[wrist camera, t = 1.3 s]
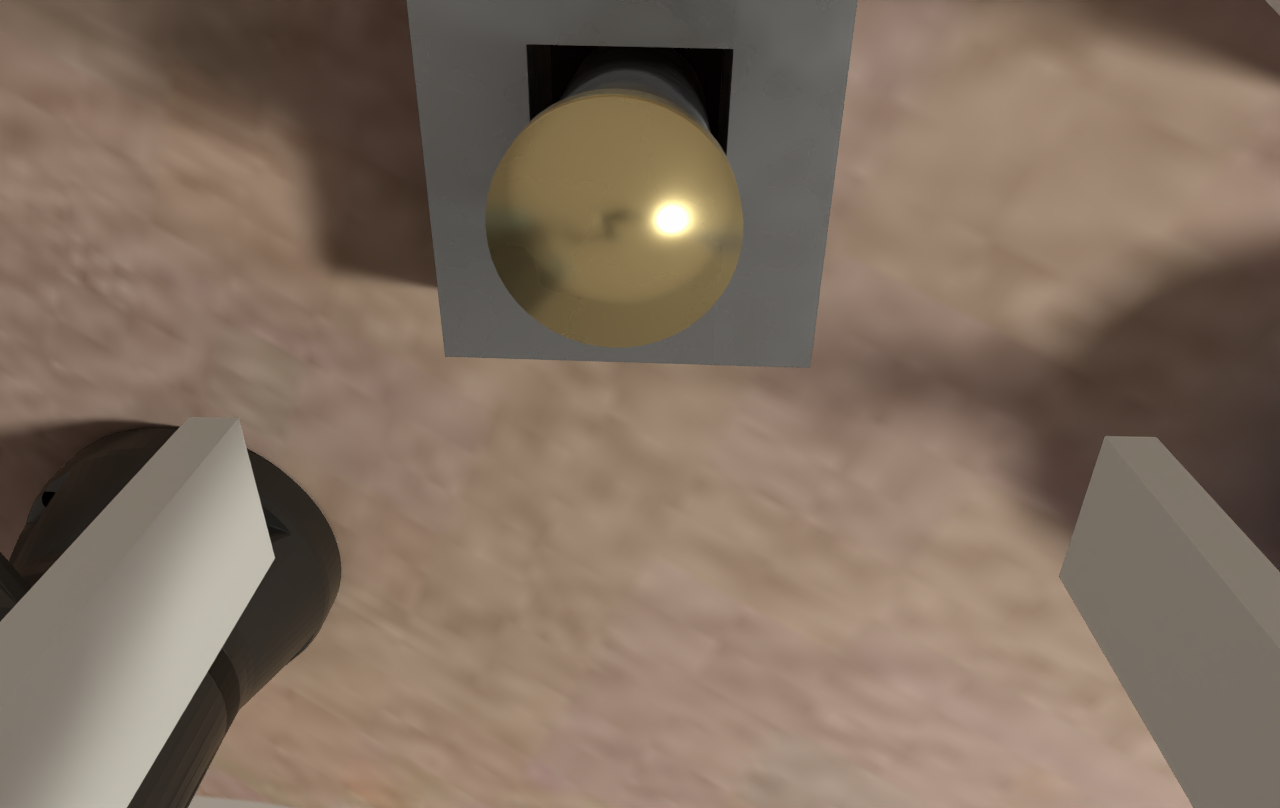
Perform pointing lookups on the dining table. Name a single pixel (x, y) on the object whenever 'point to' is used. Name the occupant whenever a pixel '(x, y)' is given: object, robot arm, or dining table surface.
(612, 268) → the grey and gold cylinder
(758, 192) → the housing
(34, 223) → the dining table surface
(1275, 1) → the milk
